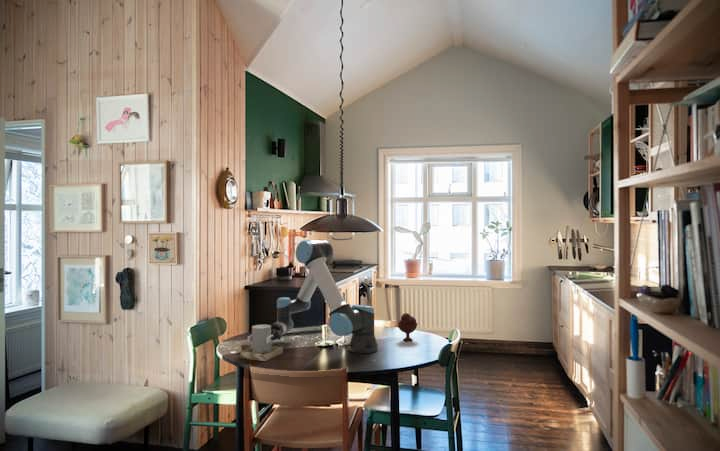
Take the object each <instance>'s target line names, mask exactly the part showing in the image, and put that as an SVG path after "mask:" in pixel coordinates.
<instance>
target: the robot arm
mask: <svg viewBox="0 0 720 451" xmlns="http://www.w3.org/2000/svg"><path fill="white" fill-rule="evenodd" d="M333 256H334V248H333V246H332V244H331V243H330V242H329V241H328V240H325V239H323V238H321V239H312V240H311V239H306V240H302V241H300V242H299V243H298V244H297V246H296V249H295V258H296V260H297V261H298V262H299V264H300V263H301V264H304V266H305V269H307V270H309V271H308V273H307V275H306V277H305V279H304V281H303V284H302V286H301V288H300V289H299V292H298V294H297V295H296V298H294V299H291V298H290V297H288V296H287V297H286V296H284V297H283V296H282V297H279V298H277V300H276V322H274V323H272V324H270V325H271V335H270V336H269V337H267V338H266V343H269V342H271V343H272V342H273V341H274V340H275V341H276V340H281V339H282V337H283V336H285V334H287V333H288V332H290V331H291V330H292V329H293V327H294V320H293V319H292V317H291V316H292V314H295V313H300V312H306V311H308V310H309V309H310V308H311V307H312V306H311V304H312V301H311V298H312V297H313V295H314V293H315V291H316V288H317V287H318V289H319V290H320V293H321V294H322V297H323V299H324V301H325V302H326V304H327V307H328V309H329V312H328V316H329V318H328V327H329V329H330V331H331V332H332V333H333V334H334V335H335V336H339V337H344V336H349V335H351V338H350V342H349V345H348V350H349V352H351V353H354V354H372V353H375V352H377V351H378V350H379V344H378V342H377V338H376V336H375V315H376V314H375V308H374V307H373V306H371V305H365V304H364V305H363V304H352V305H350V303H349V302H346V301H345V299H344V297H343V295H342V293H341V291H340V289H339V287H338V286H337V283H336V281H335V279H334V277H333V275H332V273H331V272H330V270H329V266H330V265H331V263H332V260H333V258H334V257H333ZM251 342H252V331H251V332H249V336H247V343H251Z"/></svg>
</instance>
